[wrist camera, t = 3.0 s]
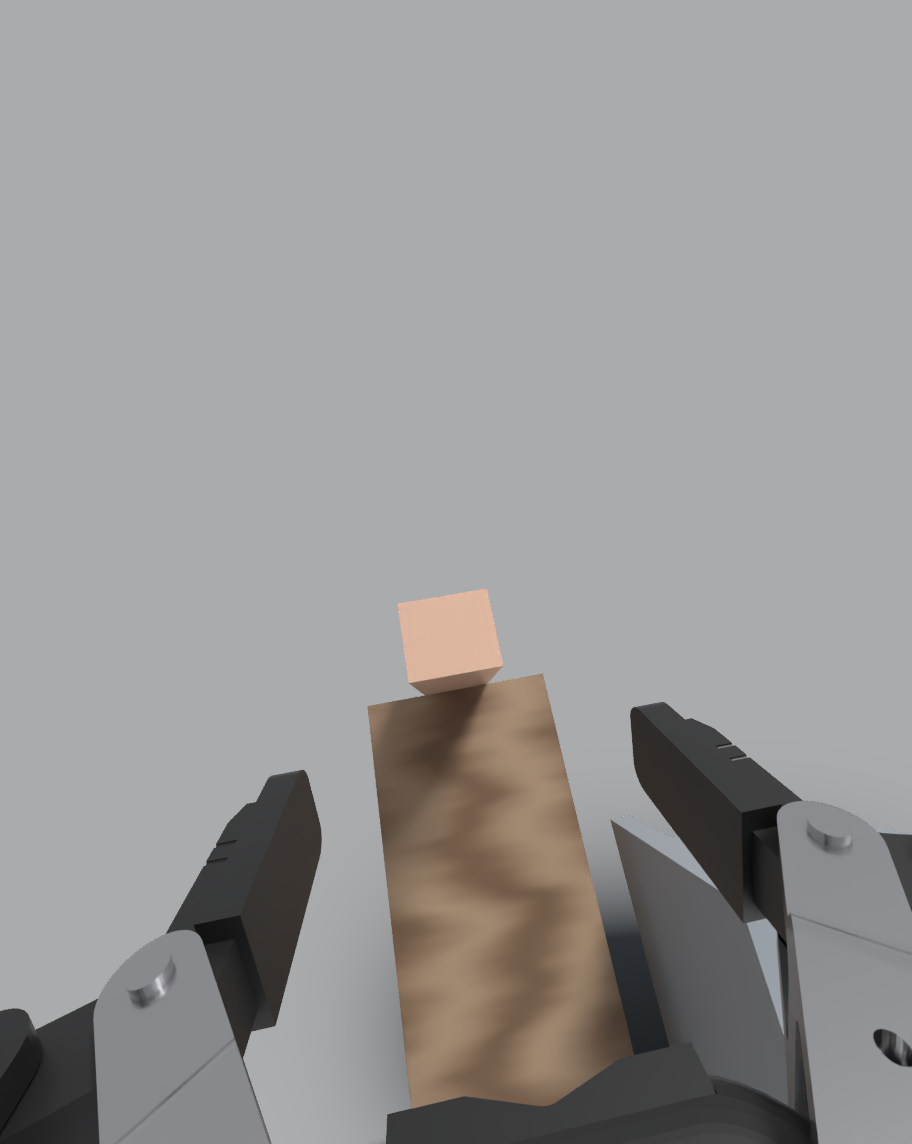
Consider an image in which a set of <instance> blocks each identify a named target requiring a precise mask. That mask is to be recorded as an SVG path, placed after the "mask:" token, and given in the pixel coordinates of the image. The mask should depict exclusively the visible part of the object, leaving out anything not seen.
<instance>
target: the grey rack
mask: <svg viewBox="0 0 912 1144" xmlns="http://www.w3.org/2000/svg"><path fill="white" fill-rule="evenodd" d="M611 823H612V827H613V831H614V835H615V839H616V843H617V846H618V850H619V854H620V858H621V862H622V865H623V869H624V873H625V877H626V881H627V885H628V889H629V892H630V896H631V900H632V904H633V908H634V912H635V915H636V919H637V923H638V927H639V931H640V934H641V938H642V942H643V946H644V950H645V954H646V958H647V961H648V965H649V969H650V973H651V977H652V980H653V984H654V988H655V992H656V996H657V1000H658V1003H659V1007H660V1011H661V1015H662V1019H663V1022H664V1027H665V1030H666V1034H667V1038H668V1042H669V1045H670V1047H672V1046H676V1045H680V1044H685V1043H689V1042H691V1043H692V1045H693V1047H694V1049H695V1051H696V1053H697V1055H698V1057H699V1059H700V1061H701V1063H702V1065H703V1067H704V1069H705V1071H706V1073H707V1075H714V1076H719V1077H723V1078H726V1079H730V1080H733V1081H737V1082H740V1083H743V1084H745V1085H748V1086H750V1087H752V1088H755V1089H757V1090H760V1091H762V1092H764V1093H766V1094H768V1095H770V1096H771V1097H773V1098H775V1099H777V1100H779V1101H781V1102H782V1103H784V1104H786V1105H788V1090H787V1068H786V1053H785V1040H784V1028H783V1016H782V1004H781V992H780V979H779V967H778V955H777V931H776V930H775V928H774V927H773V926H772V925H771V923H770V922H769V921H768V920H767V918H766V919H762V920H758V921H753V922H749V923H744V924H743V922H742V921H741V920H740V918H739V917H738V916H737V914H736V913H735V912H734V910H733V909H732V908H731V906H730V905H729V903H728V902H727V901H726V899H725V898H724V897H723V895H722V894H721V893H720V891H719V890H718V889H717V887H716V886H715V885H714V883H713V882H712V881H711V879H710V878H709V877H708V875H707V874H706V873H705V871H704V870H703V869H702V867H701V866H700V865H699V863H698V862H697V861H696V859H695V858H694V857H693V855H692V854H691V853H690V851H689V850H688V849H687V847H686V846H685V845H684V843H683V842H682V841H681V839H680V838H679V837H678V836H677V837H672V838H670V837H668V836H667V835H665V834H663V833H661V832H660V831H658V830H656V829H654V828H652V827H650V826H649V825H647V824H645V823H644V822H642V821H640V820H638V819H636V818H634V817H633V816H631V815H629V816H625V817H620V818H615V819H611ZM870 826H871V825H870ZM872 827H873V828H874V829H875V830H876V831H877V832H878V833H890V834H902V833H898V832H894V831H890V830H887V829H883V828H879V827H875V826H872Z"/></svg>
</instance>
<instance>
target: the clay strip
mask: <svg viewBox="0 0 912 1144" xmlns="http://www.w3.org/2000/svg"><path fill="white" fill-rule="evenodd" d="M398 610H399V617H400V624H401V631H402V638H403V646H404V652H405V660H406V666H407V674H408V681H409V684H411V685H412V686H413V687H415V688H416V689H417V690H419V691H420V692H421V693H423V694H424V695H431V694H436V693H442V692H447V691H452V690H458V689H463V688H468V687H474V686H479V685H484V684H487V683H488V682H489V681H490V680H491V679H492V678H493V677H494V675H495V674H496V673H497V672H498V671H499V670H500V669H501V668H502V667H503V662H502V657H501V653H500V648H499V643H498V639H497V634H496V629H495V624H494V620H493V615H492V610H491V605H490V601H489V596H488V592H487V589H482V590H476V591H470V592H464V593H459V594H453V595H447V596H442V597H436V598H430V599H424V600H418V601H412V602H407V603H401V604H398Z"/></svg>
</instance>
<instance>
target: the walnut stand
mask: <svg viewBox="0 0 912 1144" xmlns="http://www.w3.org/2000/svg"><path fill="white" fill-rule="evenodd" d="M368 715H369V724H370V733H371V742H372V751H373V759H374V769H375V778H376V788H377V797H378V806H379V815H380V824H381V834H382V843H383V852H384V861H385V870H386V879H387V888H388V897H389V907H390V916H391V925H392V934H393V943H394V953H395V962H396V971H397V979H398V988H399V998H400V1007H401V1017H402V1026H403V1035H404V1044H405V1053H406V1062H407V1072H408V1080H409V1090H410V1099H411V1108H417V1107H421V1106H425V1105H429V1104H433V1103H438V1102H442V1101H446V1100H450V1099H454V1098H458V1097H463V1096H467V1097H475V1098H482V1099H490V1100H497V1101H505V1102H512V1103H520V1104H527V1105H535V1106H548V1105H552V1104H554V1103H556V1102H557V1101H559V1100H560V1099H562V1098H563V1097H565V1096H566V1095H567V1094H569V1093H570V1092H572V1091H573V1090H575V1089H576V1088H578V1087H579V1086H581V1085H582V1084H583V1083H585V1082H586V1081H588V1080H589V1079H591V1078H592V1077H594V1076H595V1075H597V1074H598V1073H599V1072H601V1071H602V1070H604V1069H605V1068H607V1067H608V1066H610V1065H611V1064H613V1063H614V1062H615V1061H617V1060H618V1059H622V1058H626V1057H630V1056H634V1054H633V1049H632V1045H631V1041H630V1037H629V1033H628V1029H627V1024H626V1020H625V1016H624V1012H623V1008H622V1004H621V999H620V995H619V991H618V987H617V983H616V979H615V974H614V970H613V966H612V962H611V958H610V954H609V950H608V945H607V941H606V937H605V932H604V928H603V924H602V920H601V916H600V912H599V907H598V904H597V899H596V895H595V890H594V886H593V883H592V878H591V874H590V870H589V865H588V861H587V857H586V853H585V849H584V844H583V840H582V836H581V832H580V828H579V824H578V819H577V815H576V811H575V807H574V803H573V798H572V794H571V790H570V786H569V782H568V778H567V773H566V769H565V766H564V761H563V757H562V753H561V749H560V745H559V741H558V736H557V732H556V727H555V723H554V719H553V715H552V711H551V706H550V702H549V698H548V694H547V690H546V686H545V681H544V677H543V674H539V675H533V676H528V677H522V678H517V679H511V680H506V681H501V682H495V683H490V684H484V685H479V686H474V687H468V688H463V689H458V690H452V691H447V692H442V693H436V694H431V695H425V696H421V697H415V698H409V699H404V700H399V701H393V702H388V703H383V704H377V705H372V706H368Z"/></svg>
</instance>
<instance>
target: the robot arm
mask: <svg viewBox="0 0 912 1144" xmlns="http://www.w3.org/2000/svg"><path fill="white" fill-rule="evenodd" d="M630 717H631V731H632V743H633V757H634V766H635V770H636V774H637V777H638V779H639V782H640V784H641V786H642V788H643V789H644V791H645V792H646V794H647V795H648V796H649V798H650V799H651V800H652V802H653V803H654V804H655V806H656V807H657V808H658V810H659V811H660V812H661V814H662V815H663V817H664V818H665V819H666V821H667V822H668V823H669V824H670V826H671V827H672V829H673V830H674V831H675V833H676V834H677V835H678V837H679V838H680V839H681V841H682V842H683V843H684V845H685V846H686V847H687V849H688V850H689V851H690V853H691V854H692V855H693V857H694V858H695V859H696V861H697V862H698V863H699V865H700V866H701V867H702V869H703V870H704V871H705V873H706V874H707V875H708V877H709V878H710V879H711V881H712V882H713V883H714V885H715V886H716V887H717V889H718V890H719V891H720V893H721V894H722V895H723V897H724V898H725V899H726V901H727V902H728V903H729V905H730V906H731V908H732V909H733V910H734V912H735V913H736V914H737V916H738V917H739V918H740V920H741V921H742V922H743V924H744V923H749V922H753V921H758V920H762V919H766V918H767V920H768V921H769V922H770V923H771V925H772V926H773V927H774V928H775V930H776V931H777V955H778V967H779V979H780V992H781V1004H782V1016H783V1028H784V1040H785V1053H786V1068H787V1090H788V1105H786V1104H784V1103H782V1102H781V1101H779V1100H777V1099H775V1098H773V1097H771V1096H770V1095H768V1094H766V1093H764V1092H762V1091H760V1090H757V1089H755V1088H752V1087H750V1086H748V1085H745V1084H743V1083H740V1082H737V1081H733V1080H730V1079H726V1078H723V1077H719V1076H714V1075H707V1073H706V1071H705V1069H704V1067H703V1065H702V1063H701V1061H700V1059H699V1057H698V1055H697V1053H696V1051H695V1049H694V1047H693V1045H692V1043H691V1042H689V1043H685V1044H680V1045H676V1046H672V1047H668V1048H664V1049H659V1050H655V1051H651V1052H647V1053H643V1054H639V1055H634V1056H630V1057H626V1058H622V1059H618V1060H617V1061H615V1062H614V1063H613V1064H611V1065H610V1066H608V1067H607V1068H605V1069H604V1070H602V1071H601V1072H599V1073H598V1074H597V1075H595V1076H594V1077H592V1078H591V1079H589V1080H588V1081H586V1082H585V1083H583V1084H582V1085H581V1086H579V1087H578V1088H576V1089H575V1090H573V1091H572V1092H570V1093H569V1094H567V1095H566V1096H565V1097H563V1098H562V1099H560V1100H559V1101H557V1102H556V1103H554V1104H552V1105H548V1106H535V1105H527V1104H520V1103H512V1102H505V1101H497V1100H490V1099H482V1098H475V1097H467V1096H463V1097H458V1098H454V1099H450V1100H446V1101H442V1102H438V1103H433V1104H429V1105H425V1106H421V1107H417V1108H412V1109H409V1110H405V1111H400V1112H396V1113H392V1114H388V1116H387V1136H386V1144H912V835H906V834H890V833H878V832H877V831H876V830H875V829H874V828H873V827H872V826H870V825H869V824H868V823H867V822H865V821H864V820H862V819H860V818H859V817H857V816H855V815H853V814H851V813H850V812H847V811H845V810H843V809H840V808H838V807H835V806H832V805H828V804H824V803H819V802H813V801H802V800H801V799H800V798H799V797H798V796H796V795H795V794H794V793H793V792H792V791H790V790H789V789H788V788H787V787H785V786H784V785H783V784H782V783H781V782H779V781H778V780H777V779H776V778H774V777H773V776H772V775H771V774H770V773H768V772H767V771H766V770H765V769H763V768H762V767H761V766H760V765H758V764H757V763H756V762H755V761H754V760H752V759H751V758H747V756H746V754H745V753H744V752H742V751H741V750H740V749H739V748H738V747H736V746H733V745H732V743H731V742H730V741H729V740H728V739H727V738H725V737H724V736H723V735H722V734H720V733H719V732H718V731H717V730H715V729H714V728H712V727H710V726H707V725H705V724H703V723H701V722H699V721H696V720H694V719H692V718H691V719H686V720H685V719H684V718H682V717H681V716H680V715H679V714H678V713H677V712H675V711H674V710H673V709H672V708H671V707H670V706H669V705H667V704H666V703H664V702H660V703H654V704H649V705H644V706H639V707H634V708H632V710H631V714H630ZM321 838H322V837H321V827H320V822H319V818H318V814H317V811H316V806H315V802H314V798H313V795H312V791H311V787H310V783H309V779H308V776H307V774H306V772H305V771H304V770H300V771H295V772H289V773H284V774H279V775H273V776H271V777H269V778H268V780H267V782H266V784H265V786H264V788H263V790H262V792H261V794H260V796H259V797H258V799H257V801H256V802H254V803H249V804H246V805H245V806H244V807H243V808H242V809H241V810H240V812H239V813H237V815H235V816H234V818H233V819H231V821H230V822H229V823H228V824H227V826H226V827H225V829H224V831H223V833H222V835H221V836H220V838H219V840H218V842H217V843H216V848H214V849H213V851H212V852H211V854H210V856H209V858H208V859H207V861H206V862H207V864H206V866H204V867H203V869H202V870H201V872H200V874H199V876H198V877H197V879H196V881H195V883H194V884H193V886H192V888H191V890H190V892H189V893H188V895H187V897H186V899H185V901H184V902H183V904H182V906H181V908H180V909H179V911H178V913H177V915H176V917H175V918H174V920H173V922H172V924H171V925H170V927H169V929H168V931H167V933H166V934H165V935H163V936H161V937H159V938H157V939H155V940H153V941H151V942H150V943H148V944H146V945H145V946H144V947H142V948H141V949H139V950H138V951H137V952H136V953H134V954H133V955H132V956H131V957H130V958H129V959H127V960H126V961H125V962H124V963H123V964H122V965H121V966H120V967H119V969H118V970H117V971H116V972H115V973H114V974H113V976H112V977H111V978H110V980H109V981H108V982H107V984H106V985H105V987H104V989H103V990H102V992H101V994H100V996H99V998H98V999H96V1000H95V1001H93V1002H91V1003H89V1004H87V1005H85V1006H83V1007H81V1008H79V1009H77V1010H75V1011H73V1012H71V1013H69V1014H67V1015H64V1016H63V1017H61V1018H58V1019H56V1020H55V1021H53V1022H51V1023H48V1024H46V1025H45V1026H43V1027H41V1028H38V1029H36V1030H35V1028H34V1026H33V1024H32V1022H31V1019H30V1018H29V1015H28V1014H27V1013H26V1012H25V1011H24V1010H21V1009H8V1010H3V1011H0V1144H271V1141H270V1138H269V1135H268V1132H267V1129H266V1126H265V1123H264V1120H263V1117H262V1114H261V1111H260V1108H259V1105H258V1102H257V1099H256V1096H255V1093H254V1090H253V1087H252V1084H251V1081H250V1078H249V1076H248V1072H247V1069H246V1067H245V1063H244V1060H243V1056H244V1053H245V1050H246V1046H247V1043H248V1040H249V1036H250V1033H251V1031H255V1030H259V1029H264V1028H268V1027H273V1026H275V1025H276V1021H277V1018H278V1014H279V1010H280V1006H281V1003H282V999H283V995H284V991H285V987H286V984H287V980H288V976H289V972H290V968H291V964H292V961H293V956H294V953H295V949H296V945H297V941H298V938H299V934H300V930H301V926H302V923H303V919H304V915H305V911H306V907H307V903H308V899H309V896H310V892H311V888H312V884H313V880H314V877H315V873H316V869H317V865H318V861H319V858H320V853H321V841H322V839H321Z"/></svg>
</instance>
